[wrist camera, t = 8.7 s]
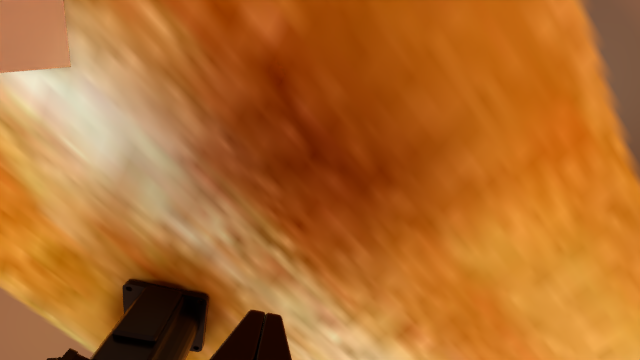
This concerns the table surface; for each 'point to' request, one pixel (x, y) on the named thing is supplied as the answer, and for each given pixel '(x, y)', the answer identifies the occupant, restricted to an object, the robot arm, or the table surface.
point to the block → (33, 35)
